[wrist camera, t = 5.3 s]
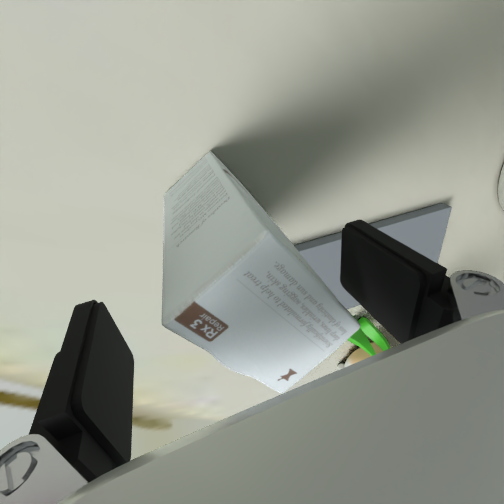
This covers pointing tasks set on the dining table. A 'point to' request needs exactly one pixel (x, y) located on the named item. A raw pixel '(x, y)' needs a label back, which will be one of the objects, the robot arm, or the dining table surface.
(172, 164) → the dining table surface
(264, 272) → the skincare box
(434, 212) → the mat
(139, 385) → the dining table surface
